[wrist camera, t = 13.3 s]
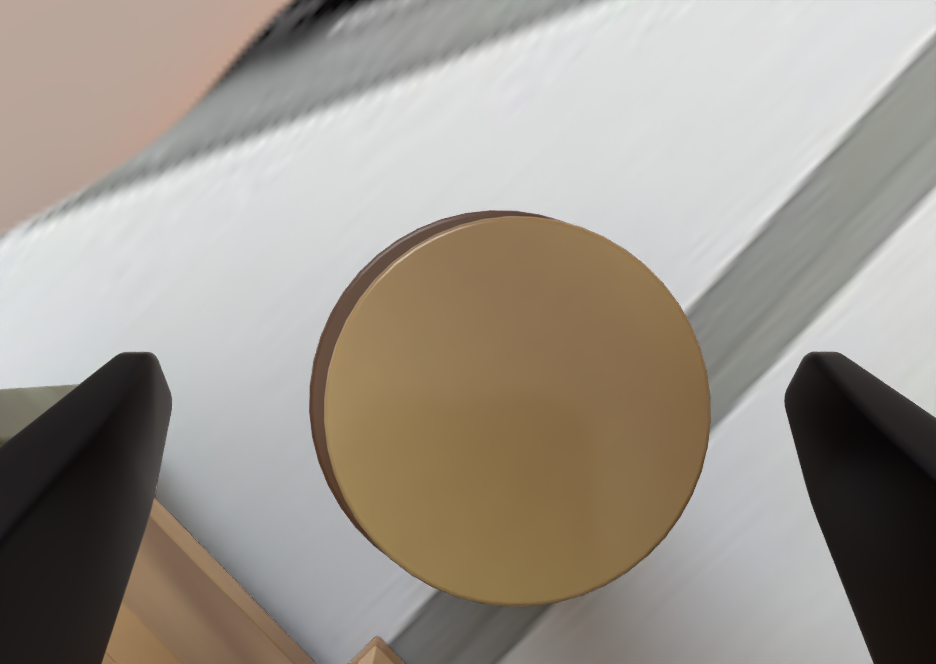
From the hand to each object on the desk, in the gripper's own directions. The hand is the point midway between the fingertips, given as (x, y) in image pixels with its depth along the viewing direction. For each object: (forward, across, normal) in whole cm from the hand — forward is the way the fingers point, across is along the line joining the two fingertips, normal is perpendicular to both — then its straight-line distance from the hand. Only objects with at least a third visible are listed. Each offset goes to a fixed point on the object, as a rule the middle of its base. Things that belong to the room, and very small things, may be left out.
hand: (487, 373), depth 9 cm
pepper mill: (+5, 0, +5) cm, 7 cm away
